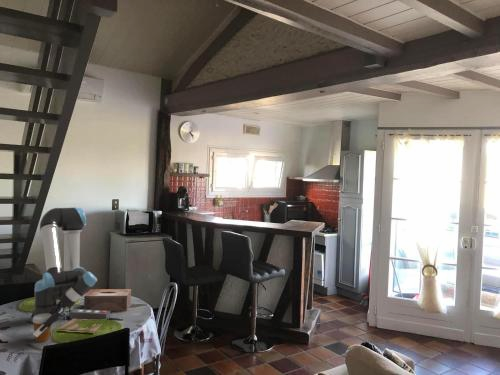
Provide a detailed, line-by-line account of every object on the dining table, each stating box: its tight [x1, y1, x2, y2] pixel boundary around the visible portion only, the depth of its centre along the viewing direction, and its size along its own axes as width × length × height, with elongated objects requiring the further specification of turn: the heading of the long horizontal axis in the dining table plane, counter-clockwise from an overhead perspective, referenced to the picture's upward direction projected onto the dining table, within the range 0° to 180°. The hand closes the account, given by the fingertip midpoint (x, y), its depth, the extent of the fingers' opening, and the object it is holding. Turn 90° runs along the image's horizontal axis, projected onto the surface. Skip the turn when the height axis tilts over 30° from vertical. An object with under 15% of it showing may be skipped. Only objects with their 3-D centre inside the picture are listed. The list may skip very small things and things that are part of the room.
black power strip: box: [69, 308, 124, 321], centre depth 236 cm, size 31×6×4 cm, turn 85°
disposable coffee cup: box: [32, 313, 52, 343], centre depth 204 cm, size 10×10×12 cm
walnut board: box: [57, 319, 102, 332], centre depth 222 cm, size 20×16×2 cm
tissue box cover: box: [83, 288, 132, 312], centre depth 256 cm, size 26×14×10 cm, turn 97°
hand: (35, 331), depth 203 cm, fingers closed on disposable coffee cup, 9 cm apart
